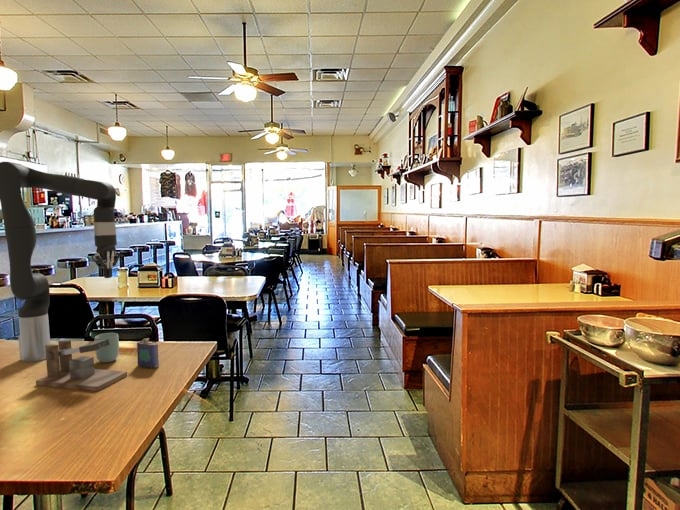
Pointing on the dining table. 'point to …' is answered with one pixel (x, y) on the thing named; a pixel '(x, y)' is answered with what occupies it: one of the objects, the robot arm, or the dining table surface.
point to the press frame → (75, 371)
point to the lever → (85, 347)
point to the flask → (147, 354)
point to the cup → (108, 347)
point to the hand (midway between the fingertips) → (108, 277)
